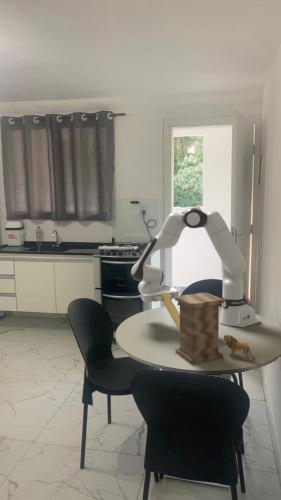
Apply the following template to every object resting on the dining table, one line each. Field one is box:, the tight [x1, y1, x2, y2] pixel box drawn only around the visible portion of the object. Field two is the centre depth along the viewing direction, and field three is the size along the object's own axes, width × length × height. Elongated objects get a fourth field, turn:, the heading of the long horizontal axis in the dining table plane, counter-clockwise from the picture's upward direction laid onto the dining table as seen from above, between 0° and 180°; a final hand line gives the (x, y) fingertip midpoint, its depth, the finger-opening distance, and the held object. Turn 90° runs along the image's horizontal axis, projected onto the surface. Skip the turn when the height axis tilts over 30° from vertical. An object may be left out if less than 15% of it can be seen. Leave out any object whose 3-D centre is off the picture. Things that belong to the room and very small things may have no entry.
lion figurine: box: [222, 334, 256, 362], centre depth 170 cm, size 15×5×9 cm, turn 54°
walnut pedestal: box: [174, 291, 224, 365], centre depth 172 cm, size 16×14×26 cm
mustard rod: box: [161, 292, 180, 333], centre depth 194 cm, size 3×24×3 cm, turn 23°
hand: (166, 299), depth 200 cm, fingers closed on mustard rod, 3 cm apart
